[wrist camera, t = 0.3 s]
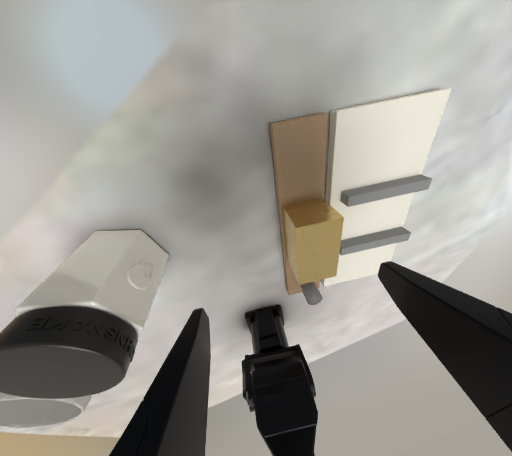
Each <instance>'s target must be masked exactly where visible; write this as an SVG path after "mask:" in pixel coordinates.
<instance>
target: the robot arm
mask: <svg viewBox="0 0 512 456" xmlns="http://www.w3.org/2000/svg"><path fill="white" fill-rule="evenodd" d="M378 277H379V279H380V281H381V282H382V284H383V285H384V287H385V289H386V290H387V292H388V293H389V295H390V296H391V298H392V299H393V301H394V302H395V304H396V305H397V307H398V308H399V309H400V311H401V312H402V313H403V315H404V316H405V317H406V318H407V319H408V321H409V322H410V323H411V325H412V326H413V327H414V328H415V330H416V331H417V332H418V334H419V335H420V336H421V337H422V339H423V340H424V341H425V342H426V344H427V345H428V346H429V347H430V348H431V350H432V351H433V352H434V354H435V355H436V356H437V358H438V359H439V360H440V361H441V363H442V364H443V365H444V366H445V367H446V369H447V370H448V372H449V373H450V374H451V375H452V376H453V378H454V379H455V380H456V382H457V383H458V384H459V385H460V387H461V388H462V389H463V391H464V392H465V393H466V394H467V396H468V397H469V398H470V399H471V400H472V402H473V403H474V404H475V406H476V407H477V408H478V409H479V411H480V412H481V413H482V415H483V416H484V417H485V418H486V420H487V421H488V422H489V424H490V425H491V426H492V427H493V429H494V430H495V431H496V433H498V435H499V436H500V438H501V439H502V440H503V441H504V443H505V444H506V445H507V446H508V448H509V449H510V450H511V452H512V313H509V312H507V311H505V310H503V309H500V308H496V307H495V306H493V305H491V304H489V303H486V302H484V301H482V300H479V299H477V298H475V297H472V296H470V295H468V294H465V293H463V292H461V291H458V290H456V289H453V288H451V287H449V286H447V285H445V284H442V283H440V282H438V281H435V280H433V279H431V278H428V277H426V276H424V275H421V274H419V273H417V272H415V271H412V270H410V269H408V268H405V267H403V266H401V265H398V264H396V263H394V262H391V261H387V262H383V263H381V264H380V268H379V271H378ZM245 318H246V321H247V324H248V327H249V330H250V332H251V335H252V343H253V351H254V354H252V355H245V359H244V360H243V361H242V373H243V398H245V400H246V401H247V402H248V405H249V408H250V412H253V411H255V414H256V422H257V427H258V429H259V432H260V434H261V436H262V438H263V439H264V441H265V443H266V445H267V446H268V448H269V450H270V452H271V454H272V456H315V455H314V444H315V433H316V425H317V419H318V411H317V408H316V404H315V401H314V397H315V396H316V392H315V386H314V382H313V378H312V375H311V372H310V370H309V367H308V365H307V362H306V360H305V357H304V355H303V353H302V350H301V348H300V345H299V344H298V345H296V346H291V347H289V346H288V342H287V338H286V335H285V331H284V328H283V326H284V322H283V315H282V308H281V306H275V307H270V308H266V309H262V310H258V311H254V312H250V313H246V314H245ZM210 357H211V353H210V329H209V318H208V316H207V314H206V312H205V311H204V309H203V308H199V309H195V310H194V311H193V312H192V314H191V316H190V318H189V319H188V321H187V323H186V325H185V326H184V328H183V330H182V332H181V333H180V335H179V337H178V339H177V340H176V342H175V344H174V346H173V347H172V349H171V351H170V353H169V354H168V356H167V358H166V360H165V361H164V363H163V365H162V367H161V368H160V370H159V372H158V374H157V376H156V377H155V379H154V381H153V383H152V384H151V386H150V388H149V390H148V391H147V393H146V395H145V397H144V399H143V401H142V402H141V403H140V405H139V407H138V409H137V411H136V412H135V414H134V416H133V417H132V419H131V421H130V422H129V424H128V426H127V428H126V429H125V431H124V433H123V434H122V436H121V437H120V439H119V441H118V442H117V444H116V446H115V447H114V449H113V450H112V452H111V453H110V455H109V456H205V443H206V426H207V409H208V393H209V376H210Z"/></svg>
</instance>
